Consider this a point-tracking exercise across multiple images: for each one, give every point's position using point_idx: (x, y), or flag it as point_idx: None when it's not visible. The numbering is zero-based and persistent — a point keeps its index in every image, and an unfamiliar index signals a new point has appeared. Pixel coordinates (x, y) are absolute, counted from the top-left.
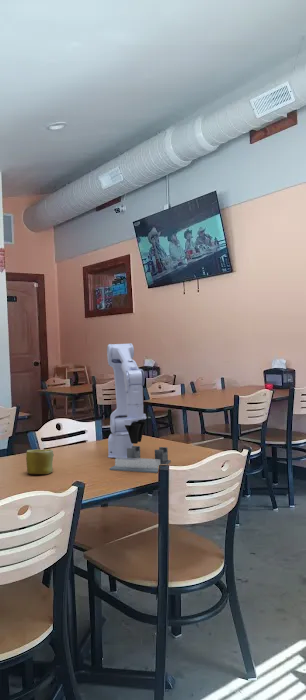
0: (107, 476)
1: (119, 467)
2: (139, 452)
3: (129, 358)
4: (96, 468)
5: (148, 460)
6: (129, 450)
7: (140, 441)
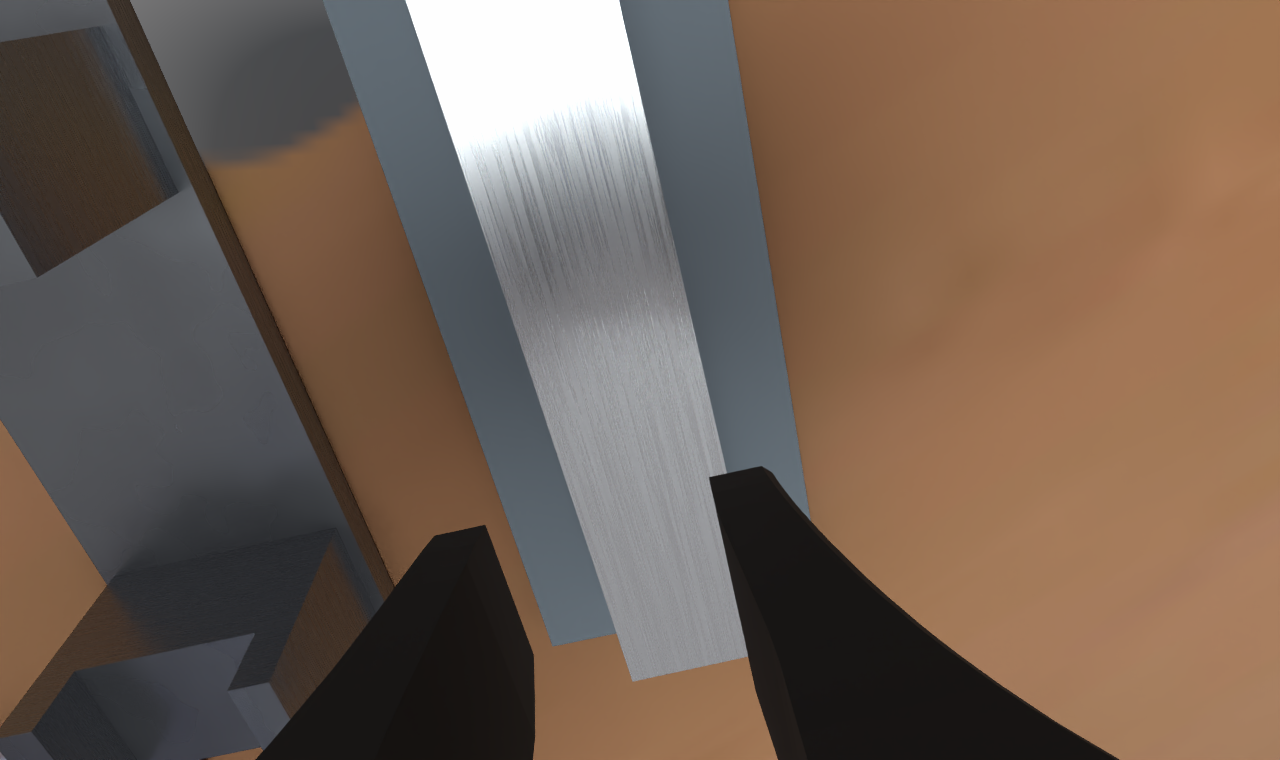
0: (1149, 395)
1: None
2: (89, 644)
3: None
4: None
5: (608, 49)
6: None
7: (470, 531)
